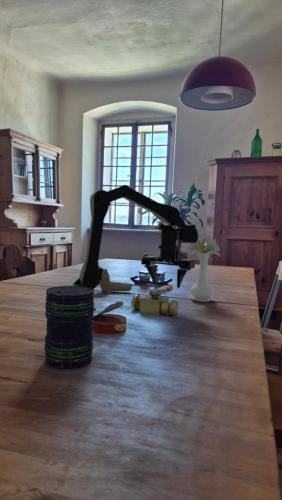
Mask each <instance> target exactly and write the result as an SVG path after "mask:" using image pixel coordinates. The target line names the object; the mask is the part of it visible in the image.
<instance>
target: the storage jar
mask: <svg viewBox="0 0 282 500" xmlns="http://www.w3.org/2000/svg"><path fill="white" fill-rule="evenodd" d="M94 290H95V288H94V289H92V288H89V287H83V286H73V285H58V286H52V287H49V288H47V289H46V291H45V295H46V296H45V303H44V304H45V305H44V308H45V313H44V315H45V319H46V333H45V336H44V352H45V353H44V357H45V358H44V363H45V366H47V367H48V368H50V369H52V370H58V371H73V370H74V371H75V370H79V369H83V368H85V367H88V366H90V365H91V363H92V361H93V357H92V356H93V349H94V342H93V341H94V335H93V333H92V332H93V331H92V317H93V316H94V313H95V312H94V311H93V308H95V300H94V293H95V291H94Z"/></svg>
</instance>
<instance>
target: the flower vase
mask: <svg viewBox="0 0 282 500" xmlns="http://www.w3.org/2000/svg"><path fill="white" fill-rule="evenodd" d="M187 250H189V251H188V253H187V256H186V258H188V257H189V256H190V255H191V254H195V255H196V258H198V259H199V269H198V277H197V280H196V282H195V283H194V285H192V286H191V288H190V294H191V296H192V297H193V300H194V301H195V302H200V303H201V302H202V303H206V302H209V301H211V300H210V299H211V298H213V296H214V295H215V290H214V288H213V287H212V285H211V284H210V282H209V279H208V263H209V262H208V261H209V259H210V255H211V254H213V255H216V256H217V255H218V256H219V257H220V258H221V254H220V253H219V251H221V249H220V247H219V244H218V243H217V241H216V239H215V238H214V239H213V240H212V241H211V239H210V238H206V237H205V238H201V239H198V240H197V242H196V243H190V245H188V246H187Z"/></svg>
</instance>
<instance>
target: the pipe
mask: <svg viewBox="0 0 282 500" xmlns="http://www.w3.org/2000/svg"><path fill="white" fill-rule="evenodd" d="M101 278H102V281H101V280H100V282H99V285H98V286H99V287H100V290H101V292H102V293H107V292H109V293H112V292H113V293H114V292H119V293H121V292H130V291H132V287H133V284H132V283H128V282H121V281H120V282H119V281H111V280H110V279H111V278H110V274H109V272H108V269H107V268H103V272H102V275H101Z"/></svg>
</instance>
